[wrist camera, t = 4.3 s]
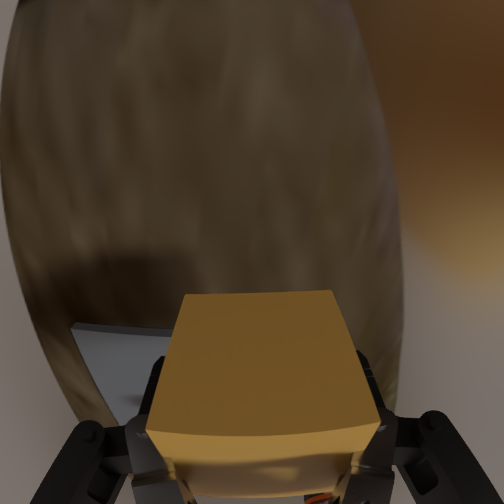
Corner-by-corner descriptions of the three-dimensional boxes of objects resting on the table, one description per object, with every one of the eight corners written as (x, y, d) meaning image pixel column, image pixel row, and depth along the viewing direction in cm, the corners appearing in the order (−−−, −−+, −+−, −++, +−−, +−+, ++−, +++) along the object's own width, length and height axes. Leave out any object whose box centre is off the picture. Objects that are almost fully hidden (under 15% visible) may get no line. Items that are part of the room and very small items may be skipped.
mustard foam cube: (185, 294, 11) (144, 429, 6) (331, 289, 11) (381, 421, 6) (203, 386, 14) (190, 494, 8) (316, 382, 14) (336, 490, 8)
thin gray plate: (75, 322, 22) (49, 358, 18) (257, 329, 22) (258, 378, 17) (125, 425, 29) (115, 457, 24) (259, 435, 28) (259, 472, 24)
